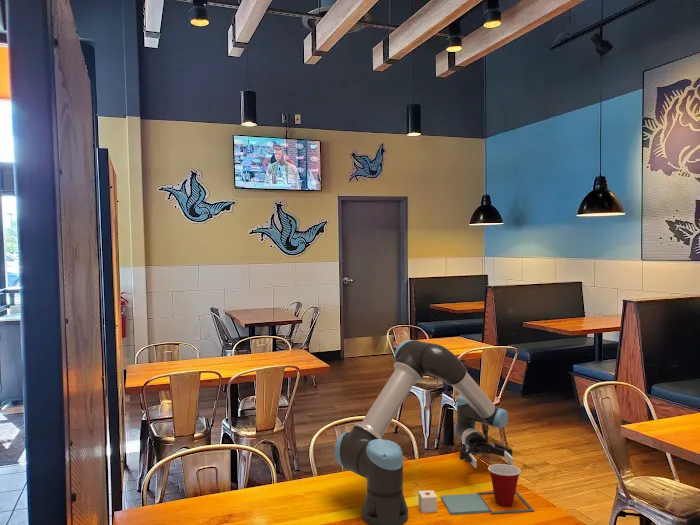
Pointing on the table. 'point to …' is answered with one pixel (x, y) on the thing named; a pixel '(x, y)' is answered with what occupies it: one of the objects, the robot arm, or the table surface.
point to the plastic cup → (504, 483)
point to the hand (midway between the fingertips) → (494, 463)
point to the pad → (464, 504)
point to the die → (427, 501)
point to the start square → (506, 511)
